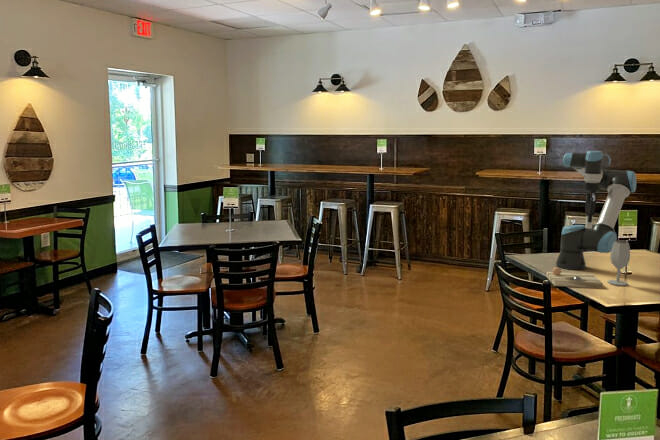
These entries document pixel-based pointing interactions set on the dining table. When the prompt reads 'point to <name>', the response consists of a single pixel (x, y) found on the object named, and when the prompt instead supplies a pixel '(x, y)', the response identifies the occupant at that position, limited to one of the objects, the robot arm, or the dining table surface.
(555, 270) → the terracotta ball
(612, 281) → the wineglass
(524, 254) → the dining table surface
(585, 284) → the board
